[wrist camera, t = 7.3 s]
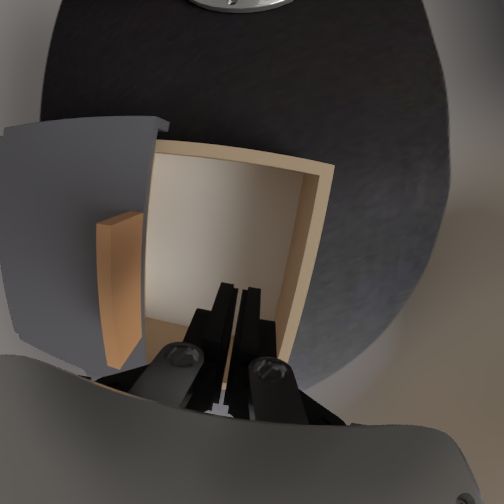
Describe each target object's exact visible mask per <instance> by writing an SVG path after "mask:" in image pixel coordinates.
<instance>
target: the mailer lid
mask: <svg viewBox="0 0 504 504" xmlns="http://www.w3.org/2000/svg"><path fill="white" fill-rule="evenodd" d="M169 123H170V122H168V121H166V120H163V119H161V118H159V117H156V116H105V117H86V118H72V119H62V120H52V121H44V122H37V123H30V124H24V125H18V126H12V127H7V128H5V129H4V135H3V136H0V264H1V271H2V277H3V283H4V288H5V293H6V298H7V303H8V307H9V311H10V315H11V319H12V323H13V327H14V330H15V332H16V333H18V334H19V337H20V339H21V340H23V341H25V342H26V343H28V344H30V345H32V346H34V347H36V348H38V349H40V350H42V351H44V352H46V353H48V354H50V355H52V356H54V357H57V358H59V359H61V360H63V361H65V362H68V363H70V364H72V365H75V366H77V367H79V368H82V369H84V370H87V371H89V372H92V373H95V374H97V375H100V376H103V377H105V376H109V375H113V374H116V373H120V372H124V371H127V370H131V369H134V368H138V367H141V366H144V365H147V357H146V339H145V249H146V231H147V216H148V204H149V194H150V184H151V175H152V167H153V159H154V152H155V145H156V139H157V132H158V131H161V132H168V128H169Z"/></svg>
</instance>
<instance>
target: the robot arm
mask: <svg viewBox="0 0 504 504" xmlns="http://www.w3.org/2000/svg"><path fill="white" fill-rule="evenodd" d="M189 1H190V2H192V3H194V4H196V5H197V6H200V7H203V8H206V9H208V10H214V11H219V12H228V13H251V12H258V11H265V10H269V9H273V8H277V7H280V6H282V5H285V4H288V3H290V2H292V1H293V0H189ZM238 289H239V288H234V284H230V283H224V282H221V284H220V287H219V290H218V292H217V295H216V298H215V301H214V304H213V307H212V310H211V311H210V310H205V309H200V308H197V309H196V311H195V313H194V316H193V318H192V320H191V323H190V325H189V327H188V330H187V332H186V334H185V337H184V339H183V341H182V342H173V343H170V344H167V345H165V346H164V347H163V348H162V349H161V350H160V352H159V353H158V354H157V355H156V357H155V358H154V359H153V361H152V362H151V363H150V364H148V365H144V366H141V367H138V368H134V369H131V370H127V371H124V372H120V373H116V374H113V375H109V376H105V377H102V378H100V379H97V380H96V381H92V379H91V377H86V376H80V375H75V374H73V373H71V372H68V371H66V370H63V369H60V368H58V367H56V366H53V365H51V364H48V363H45V362H42V361H40V360H37V359H33V358H28V357H25V356H18V355H0V504H484V502H483V499H482V496H481V493H480V490H479V487H478V485H477V482H476V480H475V478H474V475H473V473H472V470H471V468H470V466H469V464H468V462H467V460H466V458H465V456H464V455H463V453H462V451H461V449H460V448H459V446H458V445H457V443H456V442H455V441H454V440H453V439H452V438H451V437H450V436H449V435H448V434H446V433H444V432H442V431H440V430H437V429H434V428H429V427H425V426H418V425H401V424H399V425H398V424H391V425H390V424H389V425H362V424H356V423H351V424H350V426H349V425H346V424H345V423H344V421H342V420H341V419H340V418H339V417H337V416H336V415H334V414H333V413H331V412H330V411H329V410H327V409H326V408H324V407H323V406H322V405H320V404H318V403H317V402H316V401H314V400H313V399H312V398H310V397H309V396H307V395H306V394H305V393H303V392H302V391H301V390H299V389H298V386H297V383H296V380H295V377H294V373H293V371H292V369H291V367H290V366H289V365H288V364H287V363H286V362H284V361H282V360H281V359H278V358H277V347H276V323H275V321H270V320H263V319H260V303H261V289H260V288H254V287H248V290H245V289H243V290H242V296H241V301H240V307H239V313H238V318H237V324H236V330H235V335H234V341H233V347H232V353H231V359H230V366H229V372H228V378H227V384H226V391H225V397H224V403H223V405H229V409H228V414H231V415H232V416H233V417H234V418H232V417H226V416H220V415H215V414H209V413H204V412H205V411H207V410H211V411H212V406H213V403H217V404H219V399H220V394H221V389H222V383H223V378H224V373H225V368H226V362H227V357H228V352H229V346H230V341H231V334H232V328H233V321H234V315H235V308H236V302H237V295H238Z"/></svg>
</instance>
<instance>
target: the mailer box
mask: <svg viewBox="0 0 504 504" xmlns="http://www.w3.org/2000/svg"><path fill="white" fill-rule="evenodd" d="M334 166H335V165H330V164H326V163H322V162H317V161H312V160H307V159H303V158H297V157H292V156H287V155H282V154H276V153H270V152H264V151H258V150H251V149H245V148H237V147H230V146H222V145H214V144H205V143H195V142H184V141H171V140H156V145H155V152H154V159H153V167H152V175H151V184H150V194H149V204H148V216H147V231H146V249H145V339H146V357H147V365H148V364H150V363H151V362H152V361H153V359H154V358H155V357H156V355H157V354H158V353H159V352H160V350H161V349H162V348H163V347H164V346H165V345H167V344H170V343H173V342H182V341H183V339H184V337H185V334H186V332H187V330H188V327H189V325H190V323H191V320H192V318H193V316H194V313H195V311H196V309H197V308H200V309H205V310H210V311H211V310H212V307H213V304H214V301H215V298H216V295H217V292H218V290H219V287H220V284H221V282H224V283H230V284H234V288H239V289H238V295H237V302H236V308H235V315H234V321H233V328H232V334H231V341H230V346H229V352H228V357H227V362H226V368H225V373H224V378H223V383H222V389H223V390H226V384H227V378H228V372H229V366H230V359H231V353H232V347H233V341H234V335H235V330H236V324H237V318H238V313H239V307H240V301H241V296H242V290H243V289H245V290H248V287H254V288H260V289H261V303H260V319H263V320H270V321H275V323H276V347H277V358H278V359H281V360H282V361H284V362H286V363H288V360H289V357H290V353H291V350H292V346H293V343H294V340H295V336H296V333H297V329H298V325H299V322H300V318H301V314H302V311H303V307H304V303H305V299H306V296H307V292H308V288H309V284H310V280H311V276H312V272H313V267H314V263H315V259H316V255H317V250H318V246H319V242H320V237H321V232H322V228H323V223H324V218H325V214H326V209H327V204H328V199H329V194H330V188H331V183H332V178H333V172H334Z"/></svg>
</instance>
